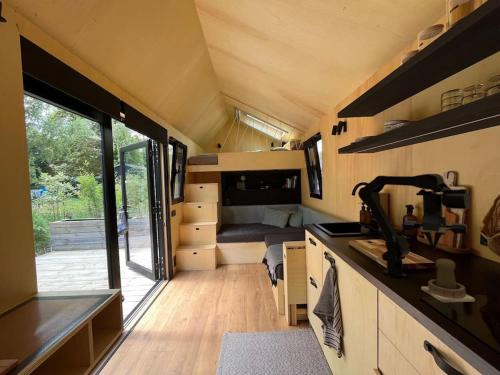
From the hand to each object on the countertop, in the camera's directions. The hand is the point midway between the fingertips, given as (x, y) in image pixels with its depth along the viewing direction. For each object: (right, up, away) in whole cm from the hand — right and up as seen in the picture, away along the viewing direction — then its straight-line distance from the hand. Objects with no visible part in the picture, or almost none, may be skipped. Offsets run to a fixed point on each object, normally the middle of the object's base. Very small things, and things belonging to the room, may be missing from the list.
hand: (433, 250), depth 92 cm
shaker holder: (-2, -13, -8) cm, 15 cm away
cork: (-1, -12, -8) cm, 15 cm away
